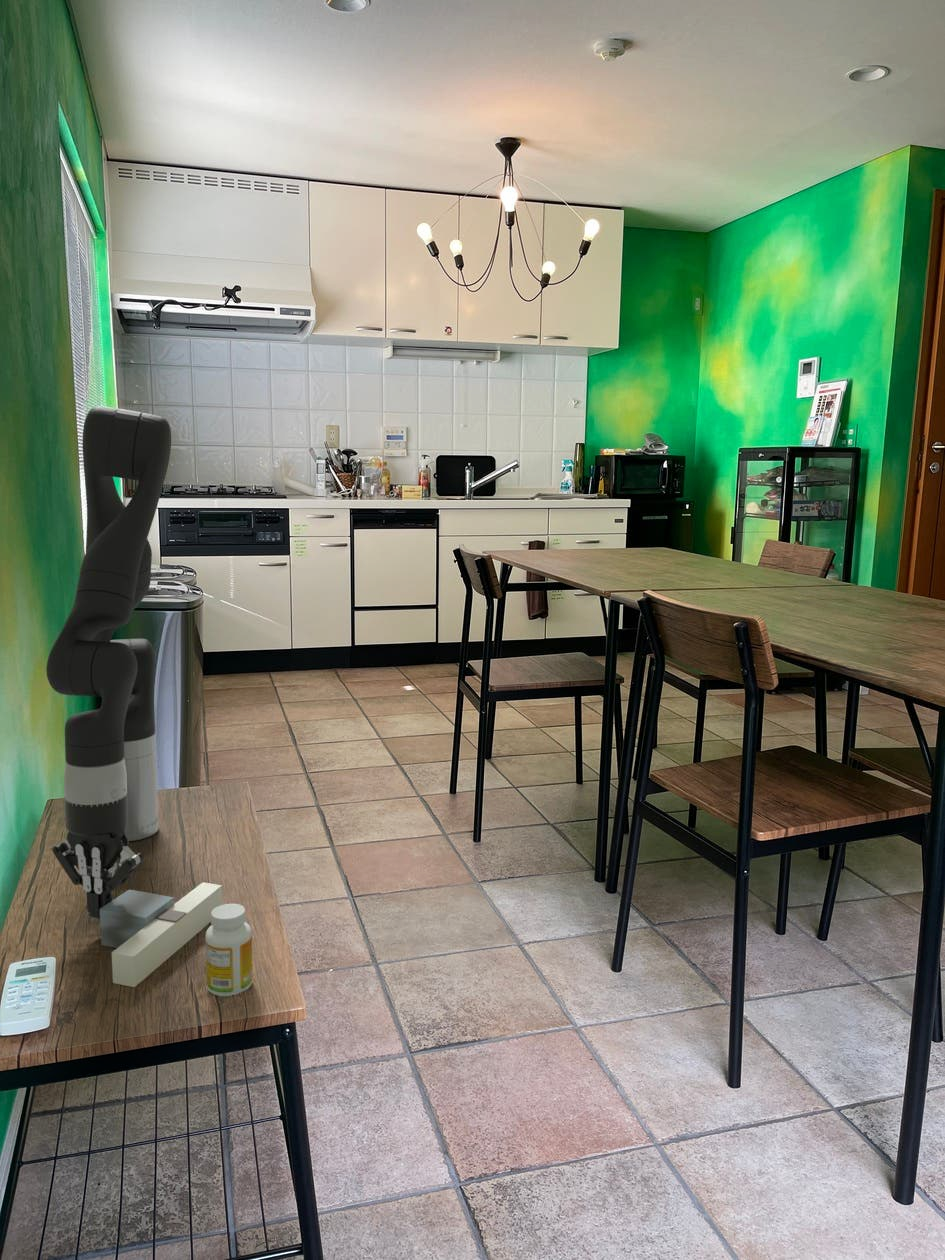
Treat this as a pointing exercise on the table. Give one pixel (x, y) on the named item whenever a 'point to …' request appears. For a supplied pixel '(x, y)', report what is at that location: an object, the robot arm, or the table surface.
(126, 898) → the block
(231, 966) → the supplement bottle
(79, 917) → the table surface
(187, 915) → the cream rectangular bar
